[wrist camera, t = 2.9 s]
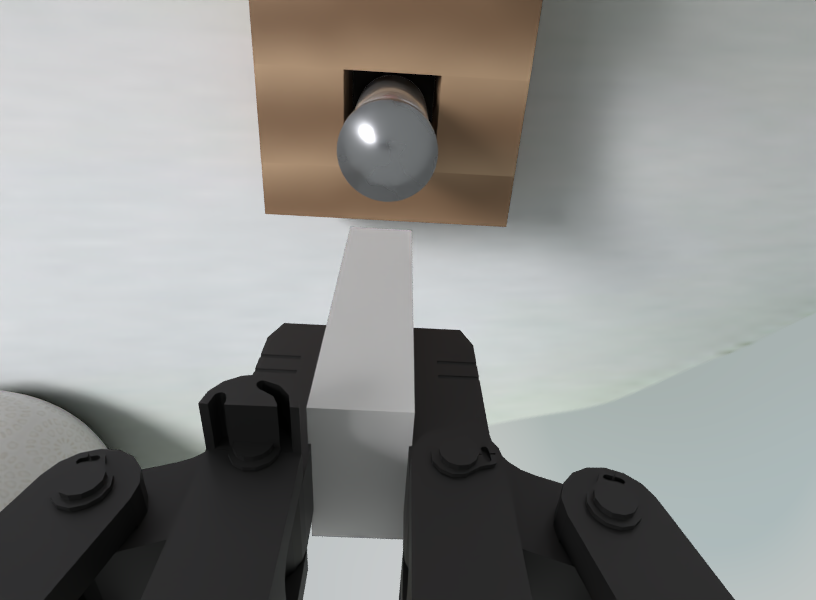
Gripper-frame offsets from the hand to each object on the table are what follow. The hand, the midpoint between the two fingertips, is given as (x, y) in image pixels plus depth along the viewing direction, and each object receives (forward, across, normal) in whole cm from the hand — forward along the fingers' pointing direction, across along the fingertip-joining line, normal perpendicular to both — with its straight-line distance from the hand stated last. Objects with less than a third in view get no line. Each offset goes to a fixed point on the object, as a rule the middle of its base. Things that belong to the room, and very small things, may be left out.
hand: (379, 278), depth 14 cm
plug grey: (+20, 0, 0) cm, 20 cm away
